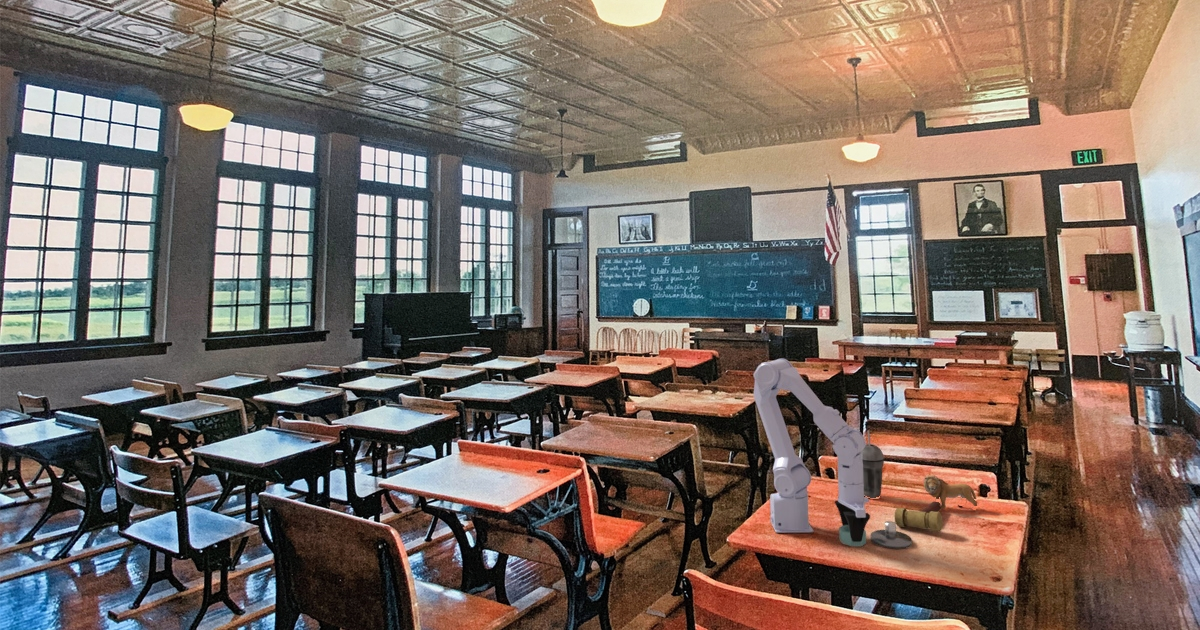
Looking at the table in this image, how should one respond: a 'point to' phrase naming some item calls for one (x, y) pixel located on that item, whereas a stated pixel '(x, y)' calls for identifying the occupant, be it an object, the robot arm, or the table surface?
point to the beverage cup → (872, 469)
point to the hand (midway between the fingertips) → (852, 535)
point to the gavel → (920, 517)
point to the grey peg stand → (891, 537)
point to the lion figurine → (948, 490)
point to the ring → (849, 537)
